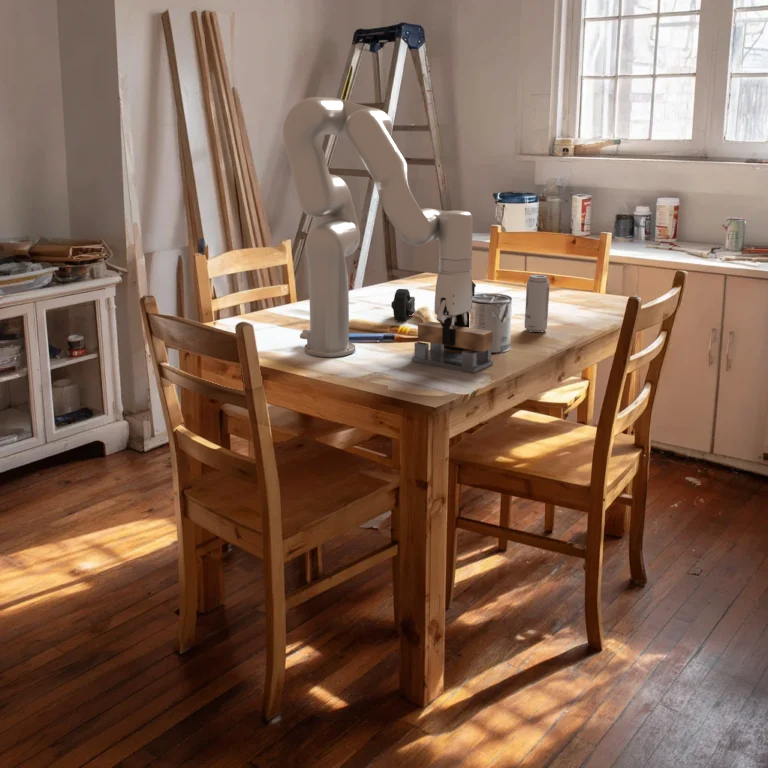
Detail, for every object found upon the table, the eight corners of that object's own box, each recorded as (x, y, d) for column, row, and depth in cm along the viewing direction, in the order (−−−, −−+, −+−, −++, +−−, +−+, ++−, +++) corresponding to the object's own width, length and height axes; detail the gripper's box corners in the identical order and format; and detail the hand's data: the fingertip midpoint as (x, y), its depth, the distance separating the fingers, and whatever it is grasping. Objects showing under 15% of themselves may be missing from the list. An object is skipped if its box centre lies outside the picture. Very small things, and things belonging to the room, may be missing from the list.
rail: (417, 340, 215) (417, 324, 214) (426, 337, 218) (426, 321, 217) (483, 351, 205) (484, 334, 204) (492, 347, 209) (492, 331, 207)
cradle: (412, 361, 215) (412, 342, 213) (432, 352, 222) (432, 335, 220) (473, 373, 205) (474, 354, 204) (493, 364, 212) (493, 346, 211)
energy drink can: (523, 327, 247) (526, 273, 242) (545, 328, 246) (549, 274, 242) (524, 333, 241) (527, 278, 236) (547, 333, 240) (551, 278, 236)
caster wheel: (408, 328, 250) (418, 311, 263) (408, 294, 246) (418, 279, 260) (388, 327, 251) (399, 310, 265) (388, 293, 247) (399, 278, 261)
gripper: (459, 259, 215) (458, 333, 220) (421, 269, 202) (421, 348, 207) (487, 262, 211) (485, 337, 216) (450, 272, 198) (449, 353, 203)
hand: (454, 342), depth 212 cm, fingers closed on rail, 4 cm apart
